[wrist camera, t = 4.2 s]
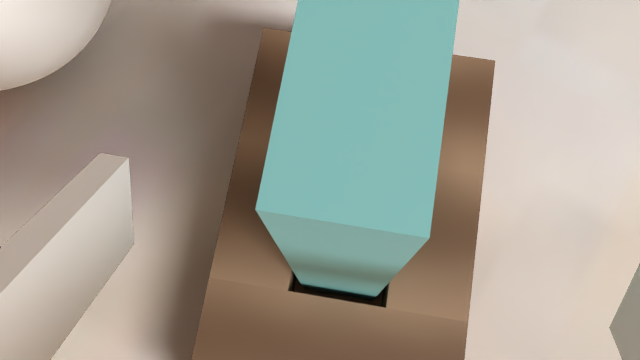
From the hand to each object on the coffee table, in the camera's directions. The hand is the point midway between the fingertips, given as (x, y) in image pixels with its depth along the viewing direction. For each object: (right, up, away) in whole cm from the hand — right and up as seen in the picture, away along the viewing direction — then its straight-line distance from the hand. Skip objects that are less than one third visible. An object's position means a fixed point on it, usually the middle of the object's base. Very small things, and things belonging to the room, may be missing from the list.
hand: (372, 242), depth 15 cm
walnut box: (0, -1, +11) cm, 11 cm away
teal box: (0, -1, +11) cm, 11 cm away
